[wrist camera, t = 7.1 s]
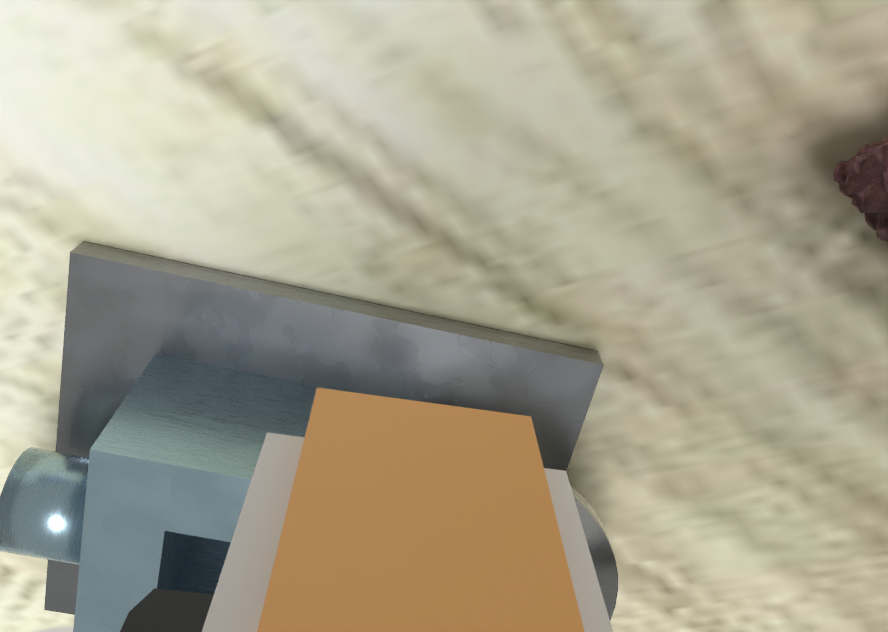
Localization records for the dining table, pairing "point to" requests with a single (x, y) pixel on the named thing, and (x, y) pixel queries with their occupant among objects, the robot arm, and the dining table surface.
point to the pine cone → (868, 184)
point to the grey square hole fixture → (236, 416)
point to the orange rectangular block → (418, 524)
